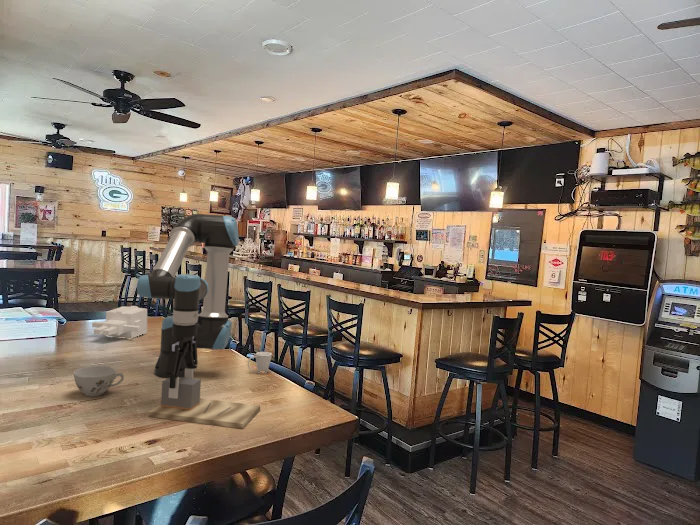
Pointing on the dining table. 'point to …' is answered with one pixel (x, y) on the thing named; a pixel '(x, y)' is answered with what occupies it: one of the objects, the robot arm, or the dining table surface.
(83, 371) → the teacup
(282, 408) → the dining table surface
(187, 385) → the block
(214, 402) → the board
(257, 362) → the cup
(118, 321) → the white voxel figure
